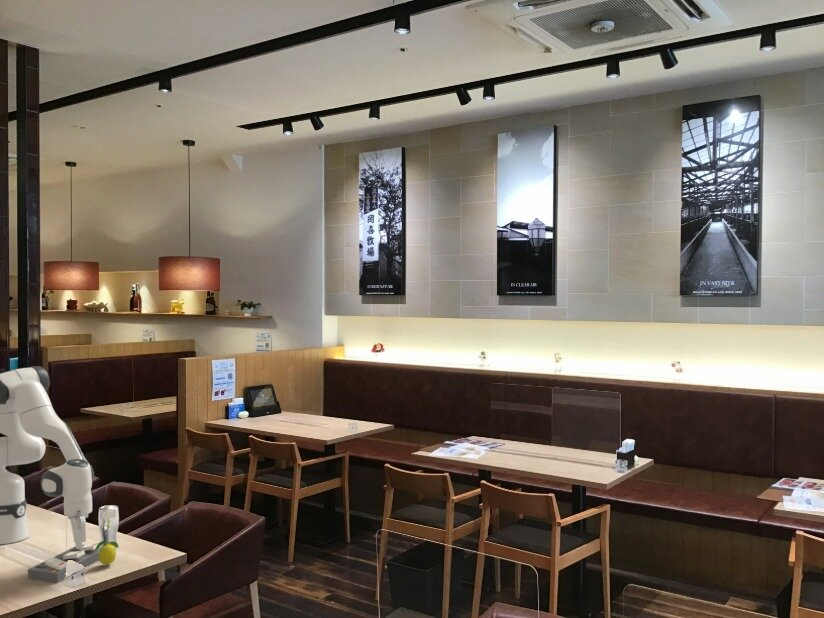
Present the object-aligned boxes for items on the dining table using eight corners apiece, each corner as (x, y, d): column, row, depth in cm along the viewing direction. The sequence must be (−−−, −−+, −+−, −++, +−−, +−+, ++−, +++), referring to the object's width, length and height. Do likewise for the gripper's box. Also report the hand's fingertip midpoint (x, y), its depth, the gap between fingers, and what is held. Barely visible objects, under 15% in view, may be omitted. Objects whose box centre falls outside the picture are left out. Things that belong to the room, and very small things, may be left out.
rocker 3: (80, 551, 261) (79, 547, 261) (87, 547, 264) (86, 544, 264) (93, 549, 259) (93, 545, 259) (100, 545, 262) (100, 542, 262)
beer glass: (111, 552, 268) (111, 511, 268) (94, 550, 270) (94, 510, 269) (123, 545, 275) (122, 505, 275) (106, 543, 277) (105, 504, 276)
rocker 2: (63, 559, 253) (62, 555, 253) (71, 555, 256) (70, 552, 256) (77, 557, 251) (76, 553, 251) (85, 553, 255) (84, 550, 255)
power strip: (27, 578, 245) (27, 568, 245) (79, 552, 268) (79, 543, 268) (57, 582, 241) (57, 573, 241) (107, 556, 264) (107, 547, 264)
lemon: (95, 569, 252) (94, 541, 252) (98, 563, 258) (98, 535, 258) (115, 568, 254) (115, 539, 253) (118, 561, 259) (118, 533, 259)
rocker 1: (44, 564, 245) (45, 560, 245) (53, 560, 249) (53, 556, 249) (59, 570, 244) (60, 566, 244) (67, 566, 247) (68, 562, 247)
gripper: (90, 514, 245) (91, 555, 245) (86, 498, 263) (86, 536, 263) (69, 517, 242) (70, 559, 242) (66, 501, 260) (67, 539, 260)
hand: (78, 547), depth 253 cm, fingers closed
